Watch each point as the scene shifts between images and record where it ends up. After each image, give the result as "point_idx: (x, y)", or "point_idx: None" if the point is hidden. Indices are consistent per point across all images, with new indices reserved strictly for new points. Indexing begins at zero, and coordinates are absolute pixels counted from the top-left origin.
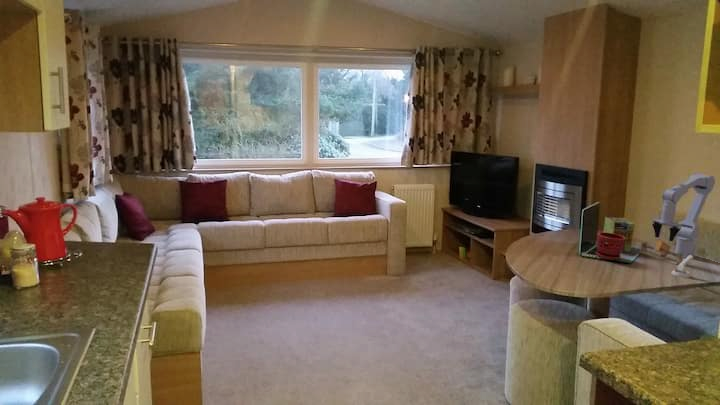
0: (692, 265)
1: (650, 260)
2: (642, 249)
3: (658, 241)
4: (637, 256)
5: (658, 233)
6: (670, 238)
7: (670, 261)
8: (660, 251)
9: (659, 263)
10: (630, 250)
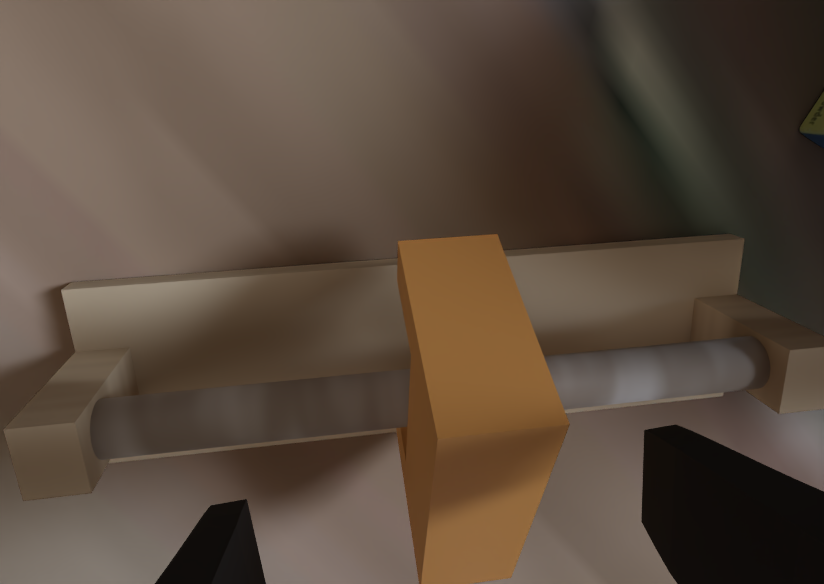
0: (14, 500)
1: (349, 36)
2: (731, 304)
3: (532, 393)
4: (586, 10)
5: (714, 572)
6: (187, 550)
7: (173, 281)
8: None
9: (168, 41)
10: (813, 133)
